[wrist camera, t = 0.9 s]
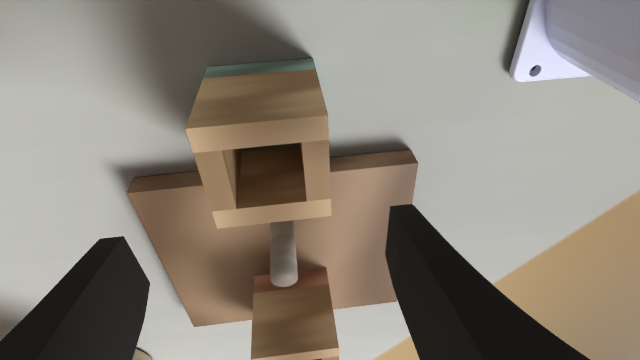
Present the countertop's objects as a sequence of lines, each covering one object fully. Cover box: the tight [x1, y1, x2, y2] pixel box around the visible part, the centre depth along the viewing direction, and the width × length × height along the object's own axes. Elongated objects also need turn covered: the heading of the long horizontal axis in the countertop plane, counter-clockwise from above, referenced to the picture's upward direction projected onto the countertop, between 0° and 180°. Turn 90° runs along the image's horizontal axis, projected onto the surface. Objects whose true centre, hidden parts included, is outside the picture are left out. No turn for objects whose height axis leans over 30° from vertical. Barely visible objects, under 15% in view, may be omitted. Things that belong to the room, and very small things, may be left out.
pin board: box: [127, 150, 418, 327], centre depth 20 cm, size 14×12×5 cm
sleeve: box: [185, 58, 331, 229], centre depth 15 cm, size 4×4×5 cm
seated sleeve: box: [251, 268, 339, 360], centre depth 21 cm, size 4×4×5 cm
